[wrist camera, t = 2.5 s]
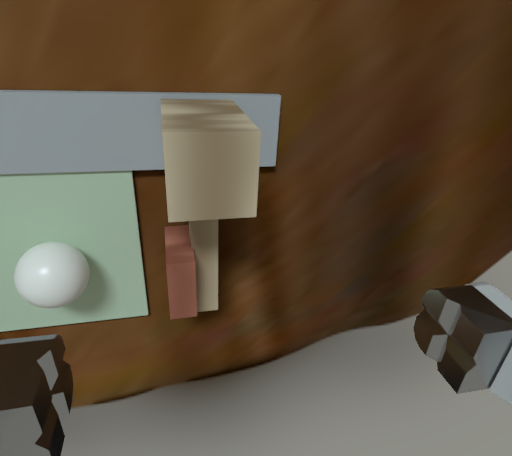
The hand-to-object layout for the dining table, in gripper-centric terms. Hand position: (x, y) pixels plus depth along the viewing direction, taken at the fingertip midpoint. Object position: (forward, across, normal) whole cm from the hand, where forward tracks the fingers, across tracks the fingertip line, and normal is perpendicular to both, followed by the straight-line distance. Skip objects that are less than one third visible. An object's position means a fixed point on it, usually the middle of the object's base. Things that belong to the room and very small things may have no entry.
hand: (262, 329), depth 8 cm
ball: (+15, +9, +8) cm, 19 cm away
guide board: (+17, +4, 0) cm, 17 cm away
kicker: (+16, 0, +4) cm, 17 cm away
